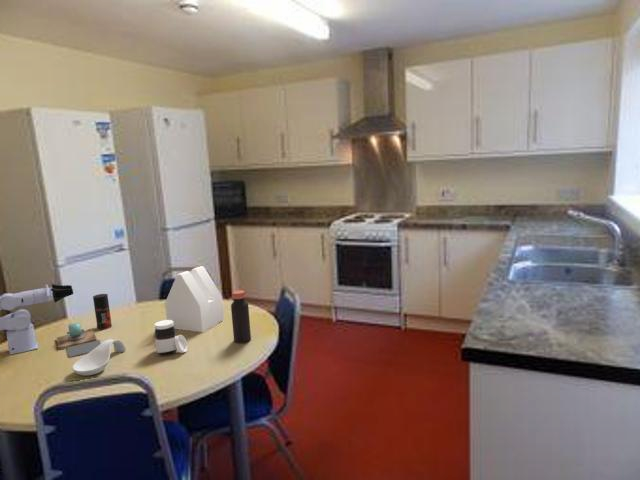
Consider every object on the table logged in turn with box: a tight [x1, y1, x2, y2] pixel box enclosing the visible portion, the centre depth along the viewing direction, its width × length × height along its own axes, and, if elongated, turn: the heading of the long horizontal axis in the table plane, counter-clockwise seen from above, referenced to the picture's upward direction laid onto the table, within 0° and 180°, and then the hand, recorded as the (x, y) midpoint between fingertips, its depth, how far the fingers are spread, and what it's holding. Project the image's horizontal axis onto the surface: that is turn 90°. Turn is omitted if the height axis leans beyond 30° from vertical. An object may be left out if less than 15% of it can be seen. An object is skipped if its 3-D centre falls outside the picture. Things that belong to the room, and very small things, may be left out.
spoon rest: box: [71, 338, 127, 377], centre depth 164 cm, size 24×12×7 cm, turn 173°
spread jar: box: [154, 319, 188, 356], centre depth 172 cm, size 12×11×12 cm
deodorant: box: [92, 293, 113, 331], centre depth 203 cm, size 6×6×15 cm
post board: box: [56, 329, 98, 351], centre depth 189 cm, size 14×14×3 cm
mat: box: [66, 339, 102, 359], centre depth 180 cm, size 12×12×1 cm
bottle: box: [230, 289, 252, 344], centre depth 178 cm, size 7×7×20 cm
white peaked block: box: [164, 265, 225, 333], centre depth 200 cm, size 19×15×25 cm
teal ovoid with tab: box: [66, 322, 85, 336], centre depth 189 cm, size 6×5×4 cm
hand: (72, 289), depth 190 cm, fingers open, 7 cm apart
